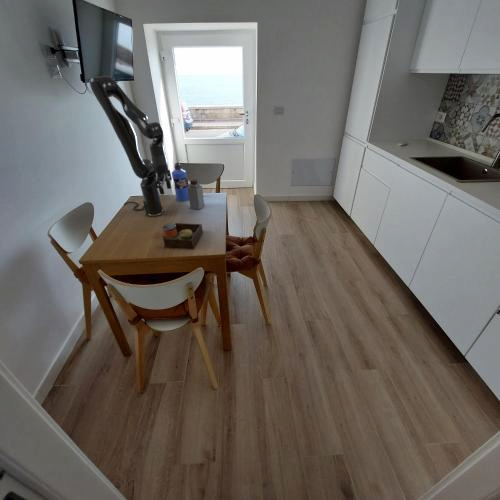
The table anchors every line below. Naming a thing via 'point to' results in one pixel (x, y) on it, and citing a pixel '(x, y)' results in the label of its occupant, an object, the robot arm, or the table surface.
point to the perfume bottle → (195, 195)
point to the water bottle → (180, 183)
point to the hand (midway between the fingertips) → (165, 191)
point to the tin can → (170, 231)
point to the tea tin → (186, 234)
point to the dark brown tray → (185, 242)
